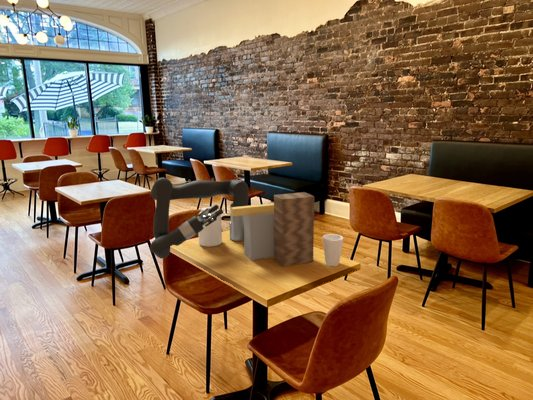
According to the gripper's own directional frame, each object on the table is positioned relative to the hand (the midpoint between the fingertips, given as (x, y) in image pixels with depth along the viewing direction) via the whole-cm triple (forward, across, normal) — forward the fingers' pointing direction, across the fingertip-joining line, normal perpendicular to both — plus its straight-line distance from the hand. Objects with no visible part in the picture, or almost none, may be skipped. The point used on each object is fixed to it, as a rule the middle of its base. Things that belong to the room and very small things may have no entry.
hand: (220, 208), depth 186 cm
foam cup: (+28, -23, +46) cm, 59 cm away
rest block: (+5, 0, +33) cm, 34 cm away
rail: (+14, 0, +13) cm, 19 cm away
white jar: (-12, +27, +23) cm, 38 cm away
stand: (+15, -13, +38) cm, 43 cm away
